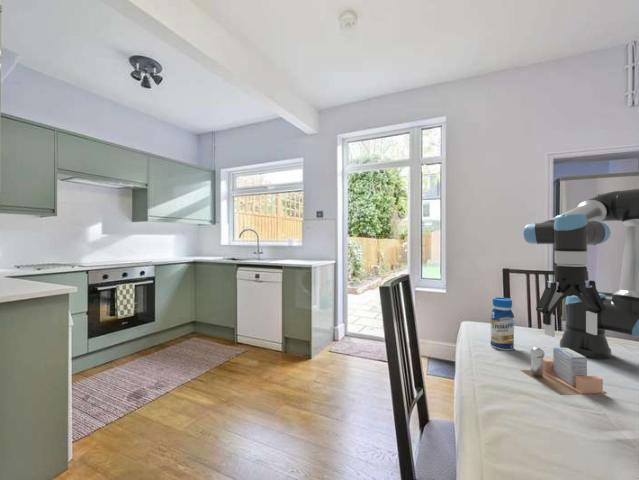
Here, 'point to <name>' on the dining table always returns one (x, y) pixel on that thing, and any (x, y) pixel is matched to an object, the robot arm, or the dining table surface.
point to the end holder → (582, 382)
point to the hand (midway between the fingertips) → (570, 334)
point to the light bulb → (537, 362)
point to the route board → (553, 384)
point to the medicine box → (569, 365)
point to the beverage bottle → (502, 324)
